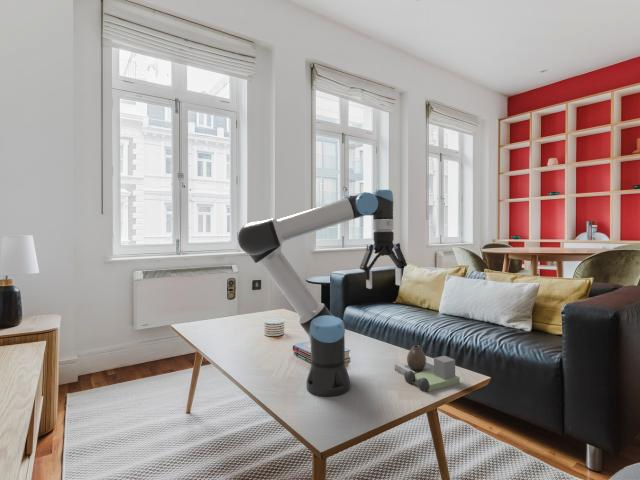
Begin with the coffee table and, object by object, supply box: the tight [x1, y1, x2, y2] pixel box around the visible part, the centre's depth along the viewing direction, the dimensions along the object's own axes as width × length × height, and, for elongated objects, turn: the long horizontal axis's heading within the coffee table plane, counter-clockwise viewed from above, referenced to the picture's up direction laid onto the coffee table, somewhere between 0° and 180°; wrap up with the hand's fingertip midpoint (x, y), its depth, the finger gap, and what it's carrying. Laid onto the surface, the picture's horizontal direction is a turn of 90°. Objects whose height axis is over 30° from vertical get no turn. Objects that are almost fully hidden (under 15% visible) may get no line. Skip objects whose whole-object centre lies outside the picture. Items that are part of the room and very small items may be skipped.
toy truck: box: [403, 355, 461, 392], centre depth 135 cm, size 11×16×8 cm
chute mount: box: [394, 359, 434, 376], centre depth 145 cm, size 10×13×2 cm
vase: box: [406, 344, 427, 371], centre depth 145 cm, size 7×7×9 cm
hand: (384, 286), depth 148 cm, fingers open, 13 cm apart
